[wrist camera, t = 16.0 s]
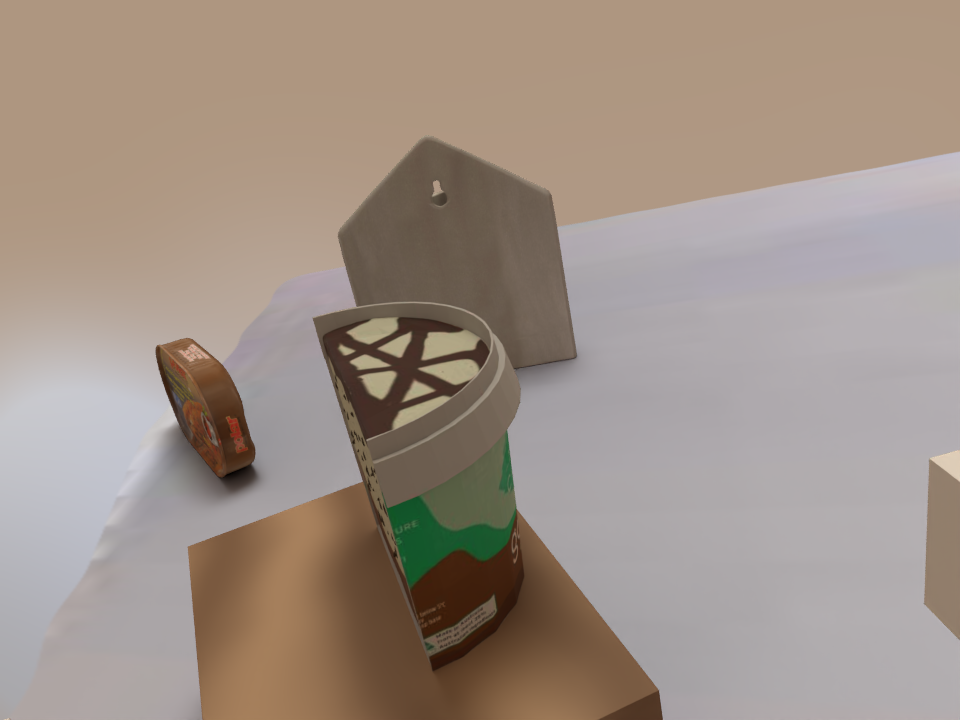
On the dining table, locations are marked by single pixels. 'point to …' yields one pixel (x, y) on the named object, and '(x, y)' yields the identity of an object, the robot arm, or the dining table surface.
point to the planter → (464, 249)
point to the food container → (434, 460)
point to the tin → (206, 405)
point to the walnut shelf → (388, 633)
